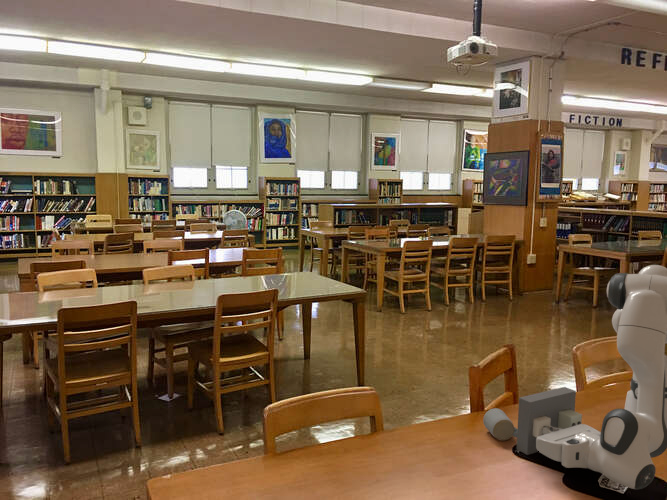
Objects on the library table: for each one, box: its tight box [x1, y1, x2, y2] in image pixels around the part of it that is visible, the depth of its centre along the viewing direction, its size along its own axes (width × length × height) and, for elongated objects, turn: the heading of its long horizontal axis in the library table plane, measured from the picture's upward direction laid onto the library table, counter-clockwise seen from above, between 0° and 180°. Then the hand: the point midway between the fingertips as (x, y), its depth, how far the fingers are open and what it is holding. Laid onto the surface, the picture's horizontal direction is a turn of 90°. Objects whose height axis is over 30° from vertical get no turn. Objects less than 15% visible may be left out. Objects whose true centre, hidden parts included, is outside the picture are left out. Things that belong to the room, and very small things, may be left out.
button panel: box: [516, 386, 577, 456], centre depth 158 cm, size 20×4×16 cm, turn 118°
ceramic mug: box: [482, 407, 518, 441], centre depth 164 cm, size 11×8×8 cm
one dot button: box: [532, 416, 551, 438], centre depth 154 cm, size 5×5×5 cm
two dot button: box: [558, 409, 583, 429], centre depth 157 cm, size 5×5×5 cm
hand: (545, 429), depth 152 cm, fingers closed, pressing on one dot button
